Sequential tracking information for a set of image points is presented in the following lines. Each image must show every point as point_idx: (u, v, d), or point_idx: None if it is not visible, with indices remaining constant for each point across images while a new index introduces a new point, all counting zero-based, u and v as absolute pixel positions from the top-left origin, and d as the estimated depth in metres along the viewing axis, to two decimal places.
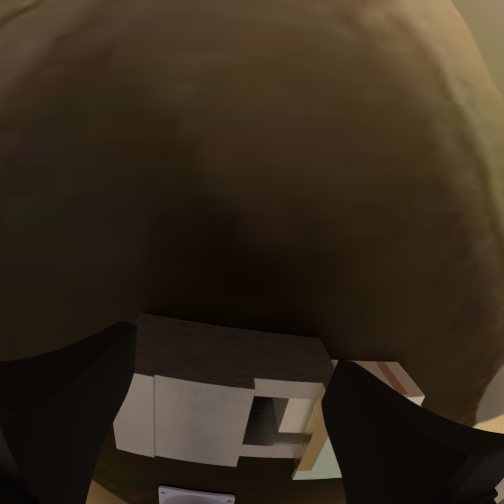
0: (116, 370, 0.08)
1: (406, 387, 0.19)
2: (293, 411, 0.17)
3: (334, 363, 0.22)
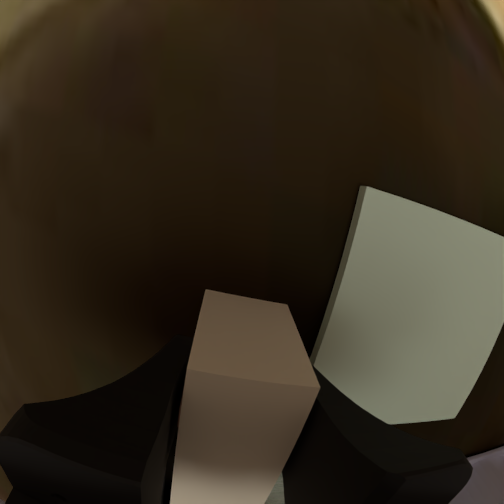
0: (182, 387, 0.08)
1: None
2: None
3: None
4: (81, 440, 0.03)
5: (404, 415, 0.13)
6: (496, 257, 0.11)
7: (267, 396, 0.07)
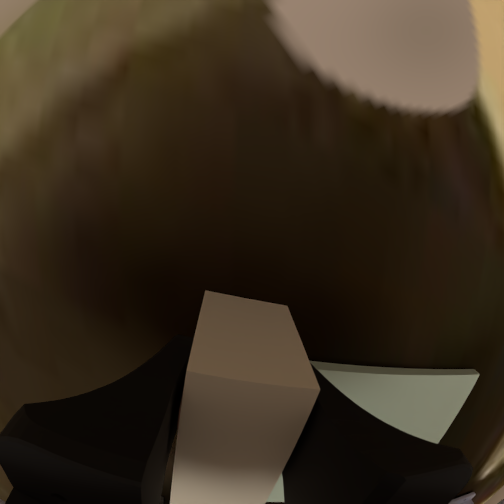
0: (182, 387, 0.08)
1: None
2: None
3: None
4: (80, 441, 0.03)
5: None
6: (441, 391, 0.12)
7: (267, 398, 0.07)
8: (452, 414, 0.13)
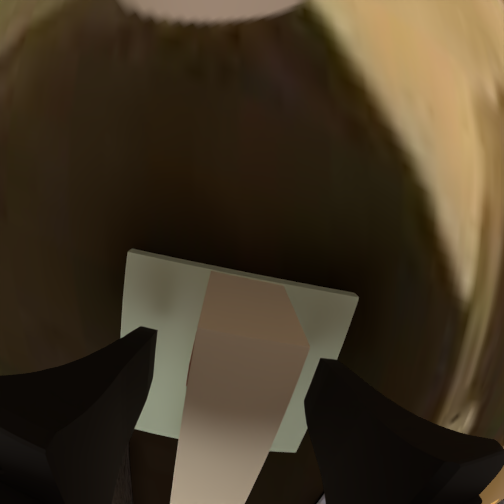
0: (139, 377, 0.08)
1: None
2: None
3: None
4: (5, 407, 0.03)
5: None
6: (299, 309, 0.13)
7: (265, 354, 0.08)
8: (331, 348, 0.14)
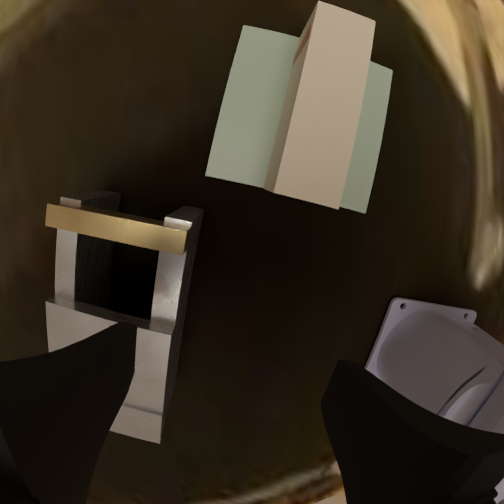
0: (116, 370, 0.08)
1: (309, 26, 0.13)
2: (300, 187, 0.13)
3: (280, 119, 0.17)
4: None
5: None
6: None
7: (353, 19, 0.12)
8: (381, 102, 0.17)
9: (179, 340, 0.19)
